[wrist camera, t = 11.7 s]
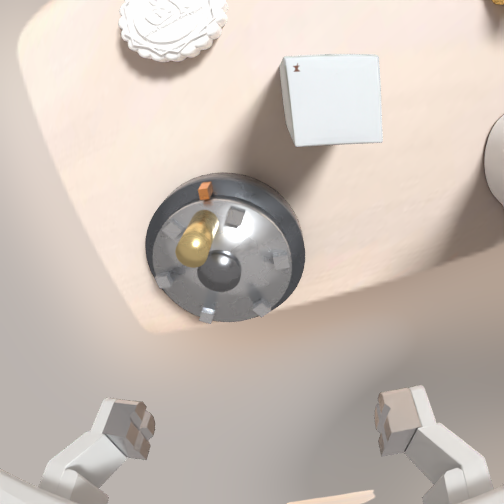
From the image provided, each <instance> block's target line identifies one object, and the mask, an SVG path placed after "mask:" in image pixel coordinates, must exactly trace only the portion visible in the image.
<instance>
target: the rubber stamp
mask: <svg viewBox="0 0 504 504" xmlns="http://www.w3.org/2000/svg"><path fill="white" fill-rule="evenodd" d="M492 1H493V3H495V4H499V5H504V0H492Z"/></svg>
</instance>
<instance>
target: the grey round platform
mask: <svg viewBox="0 0 504 504" xmlns="http://www.w3.org/2000/svg"><path fill="white" fill-rule="evenodd" d="M212 195H225V196H233V197H237V198H241V199H244V200H247V201H250V202H252V203H254V204H256V205H258V206H259V207H261V208H262V209H264V210H265V211H267V212H268V213H269V214H270V215H271V216H272V217H273V218H274V219H275V220H276V221H277V222H278V223H279V225H280V226H281V228H282V229H283V231H284V233H285V235H286V237H287V239H288V242H289V246H290V251H291V261H292V273H291V278H290V282H289V285H288V288H287V289H286V291H285V293H284V295H283V296H282V297H281V299H280V300H279V301H278V302H277V303H276V304H275V305H274V306H273V307H272V308H271V311H272V310H273V309H275V308H276V307H278V306H279V305H281V304H282V303H283V302H284V301H285V300H286V299H287V298H288V297H289V296H290V295H291V294H292V293H293V291H294V290H295V288H296V287H297V285H298V283H299V281H300V279H301V276H302V273H303V270H304V263H305V248H304V241H303V235H302V230H301V227H300V224H299V221H298V219H297V217H296V214H295V212H294V211H293V209H292V208H291V206H290V205H289V204H288V203H287V201H286V200H285V199H284V198H283V197H282V196H281V195H280V194H279V193H277V192H276V191H275V190H274V189H272V188H271V187H269V186H268V185H266V184H265V183H263V182H261V181H258V180H256V179H254V178H251V177H248V176H245V175H240V174H234V173H212V174H207V175H202V176H199V177H196V178H193V179H191V180H189V181H187V182H185V183H183V184H182V185H180V186H179V187H178V188H176V189H175V190H174V191H173V192H172V193H171V194H170V195H169V196H168V197H167V198H166V199H165V200H164V202H163V203H162V204H161V205H160V206H159V208H158V209H157V211H156V212H155V213H154V215H153V217H152V219H151V221H150V224H149V227H148V230H147V235H146V256H147V260H148V264H149V267H150V270H151V272H152V274H153V276H154V278H155V277H156V274H155V271H154V266H153V247H154V243H155V240H156V237H157V235H158V233H159V231H160V229H161V228H162V226H163V225H164V223H165V222H166V221H167V219H168V218H169V217H170V216H171V214H172V213H173V212H175V211H176V210H177V209H178V208H179V207H181V206H182V205H184V204H186V203H188V202H190V201H192V200H194V199H198V198H200V200H206V199H210V197H211V196H212ZM162 290H163V288H162ZM163 291H164V290H163ZM164 292H165V291H164ZM165 293H166V292H165ZM256 317H258V316H256ZM254 318H255V317H254Z"/></svg>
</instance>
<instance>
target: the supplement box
mask: <svg viewBox="0 0 504 504" xmlns="http://www.w3.org/2000/svg"><path fill="white" fill-rule="evenodd" d="M279 68H280V78H281V88H282V97H283V105H284V112H285V120H286V126H287V128H288V130H289V133H290V135H291V138H292V140H293V142H294V145H295V146H296V147H306V146H322V145H340V144H361V143H382V142H383V135H382V109H381V85H380V68H379V57H378V56H377V55H370V54H324V55H301V56H285V57H284V58H283V59H282V62H281V64H280V66H279Z"/></svg>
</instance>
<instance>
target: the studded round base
mask: <svg viewBox="0 0 504 504" xmlns="http://www.w3.org/2000/svg"><path fill="white" fill-rule="evenodd" d="M153 266H154V271H155V274H156V277H155V280H156V282H157V284H158V286H159V288H163V290H164V291H165V292H166V294H167V295H168V296H169V297H170V298H171V299H172V300H173V301H174V302H175V303H176V304H178V305H179V306H180V307H182V308H183V309H185V310H186V311H188V312H190V313H192V314H194V315H196V316H199V317H200V319H199V321H202V322H206V323H209V324H211V322H212V320H213V321H220V322H236V321H243V320H247V319H251V318H254V317H256V316H260V317H263V316H264V315H266V314H267V313H269V312H270V311H271V308H272V307H273V306H274V305H275V304H276V303H277V302H278V301H279V300H280V299H281V297H282V296H283V295H284V293H285V291H286V289H287V288H288V285H289V282H290V278H291V273H292V261H291V251H290V246H289V242H288V239H287V237H286V235H285V233H284V231H283V229H282V228H281V226H280V225H279V223H278V222H277V221H276V220H275V219H274V218H273V217H272V216H271V215H270V214H269V213H268V212H267V211H265V210H264V209H262V208H261V207H259V206H258V205H256V204H254V203H252V202H250V201H247V200H244V199H241V198H237V197H233V196H225V195H212V196H211V197H210V199H206V200H200V198H198V199H194V200H192V201H190V202H188V203H186V204H184V205H182V206H181V207H179V208H178V209H177V210H176V211H175V212H173V213H172V214H171V216H170V217H169V218H168V219H167V221H166V222H165V223H164V225H163V226H162V228H161V229H160V231H159V233H158V235H157V237H156V240H155V243H154V247H153Z"/></svg>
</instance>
